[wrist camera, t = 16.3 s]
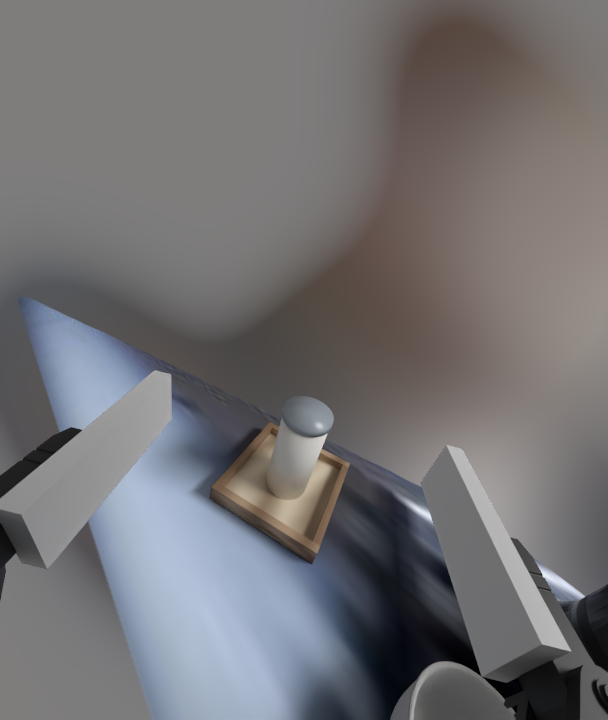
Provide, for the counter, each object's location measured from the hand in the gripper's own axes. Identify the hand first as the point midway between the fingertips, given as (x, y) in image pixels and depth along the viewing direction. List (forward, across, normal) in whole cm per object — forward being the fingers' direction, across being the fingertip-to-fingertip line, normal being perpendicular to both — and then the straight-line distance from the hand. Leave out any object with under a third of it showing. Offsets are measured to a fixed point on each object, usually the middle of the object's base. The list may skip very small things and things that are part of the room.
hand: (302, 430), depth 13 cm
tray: (+18, +2, -29) cm, 34 cm away
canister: (+18, +2, -28) cm, 33 cm away
